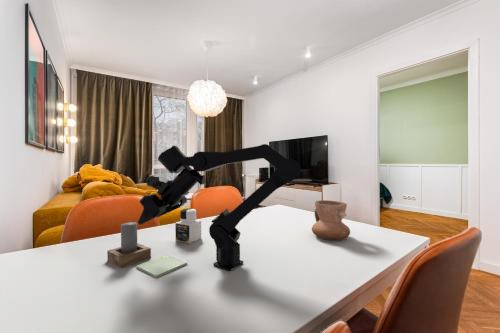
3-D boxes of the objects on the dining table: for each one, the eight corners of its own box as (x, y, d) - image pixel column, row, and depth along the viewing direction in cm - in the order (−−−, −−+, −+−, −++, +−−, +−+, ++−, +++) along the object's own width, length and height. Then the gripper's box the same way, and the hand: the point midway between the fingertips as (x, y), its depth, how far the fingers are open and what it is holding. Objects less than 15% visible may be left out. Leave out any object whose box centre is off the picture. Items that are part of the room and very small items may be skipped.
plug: (140, 258, 73) (139, 223, 73) (125, 263, 69) (125, 226, 69) (133, 255, 76) (132, 221, 76) (118, 259, 72) (118, 224, 72)
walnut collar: (150, 257, 74) (150, 248, 74) (121, 267, 66) (121, 257, 66) (136, 251, 79) (136, 242, 79) (107, 260, 72) (107, 250, 72)
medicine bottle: (175, 240, 90) (174, 209, 90) (188, 235, 96) (187, 206, 96) (189, 243, 86) (188, 211, 86) (201, 238, 93) (201, 208, 92)
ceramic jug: (361, 242, 87) (360, 204, 87) (327, 246, 82) (327, 206, 83) (331, 230, 104) (331, 198, 104) (302, 232, 100) (302, 199, 100)
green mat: (187, 264, 68) (187, 262, 68) (156, 277, 60) (156, 275, 60) (167, 256, 74) (167, 254, 74) (136, 267, 66) (136, 265, 66)
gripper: (178, 165, 80) (148, 196, 82) (146, 165, 61) (109, 206, 63) (200, 188, 79) (169, 219, 80) (174, 196, 60) (135, 236, 62)
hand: (148, 219), depth 72 cm, fingers open, 9 cm apart
